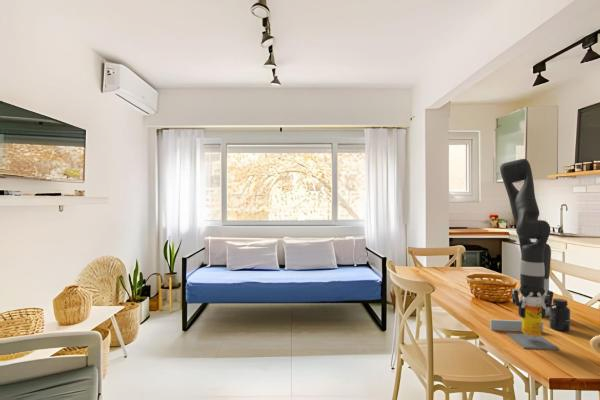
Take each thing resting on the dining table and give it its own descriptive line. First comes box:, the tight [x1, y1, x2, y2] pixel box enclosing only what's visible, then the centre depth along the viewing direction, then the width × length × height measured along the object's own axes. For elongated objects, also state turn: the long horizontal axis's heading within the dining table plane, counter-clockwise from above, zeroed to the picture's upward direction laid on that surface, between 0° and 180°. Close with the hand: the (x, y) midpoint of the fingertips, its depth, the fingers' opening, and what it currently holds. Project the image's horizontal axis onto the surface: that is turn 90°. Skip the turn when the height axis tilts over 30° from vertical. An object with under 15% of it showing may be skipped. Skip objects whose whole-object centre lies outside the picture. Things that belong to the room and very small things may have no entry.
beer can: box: [521, 296, 543, 338], centre depth 129 cm, size 6×6×15 cm
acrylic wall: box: [489, 318, 544, 333], centre depth 139 cm, size 20×1×4 cm, turn 84°
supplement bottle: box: [549, 297, 571, 332], centre depth 142 cm, size 7×7×12 cm
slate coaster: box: [506, 332, 560, 351], centre depth 129 cm, size 12×12×1 cm
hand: (531, 317), depth 129 cm, fingers closed on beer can, 6 cm apart
